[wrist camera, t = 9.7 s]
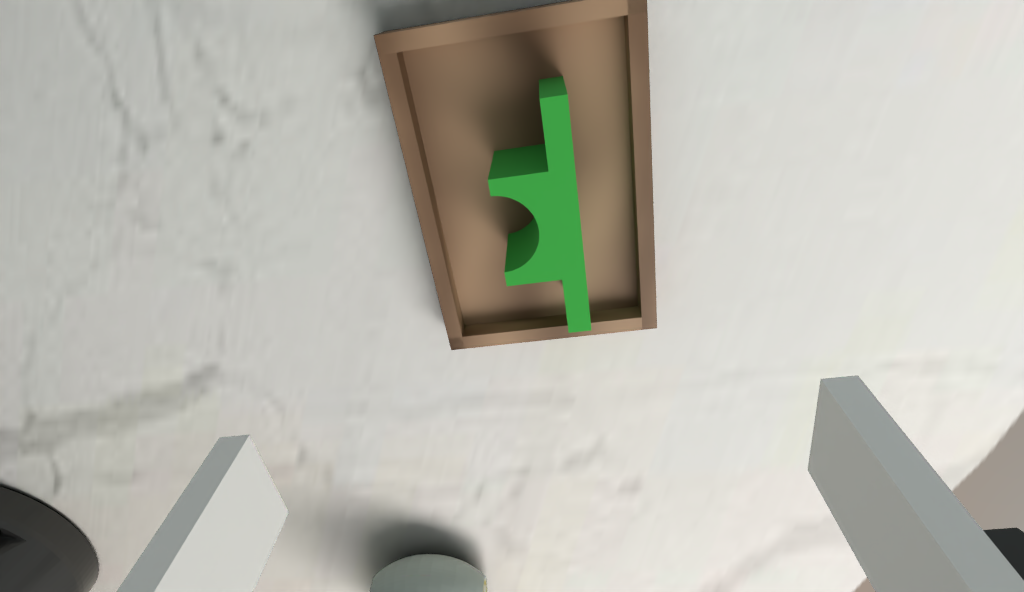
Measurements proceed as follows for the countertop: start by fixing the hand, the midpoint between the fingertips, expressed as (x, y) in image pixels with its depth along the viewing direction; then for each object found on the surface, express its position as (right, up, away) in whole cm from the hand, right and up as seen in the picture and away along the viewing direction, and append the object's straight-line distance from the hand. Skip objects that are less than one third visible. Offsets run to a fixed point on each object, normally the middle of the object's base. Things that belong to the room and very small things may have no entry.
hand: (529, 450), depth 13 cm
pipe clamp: (+1, +9, +16) cm, 18 cm away
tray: (+1, +9, +16) cm, 19 cm away
